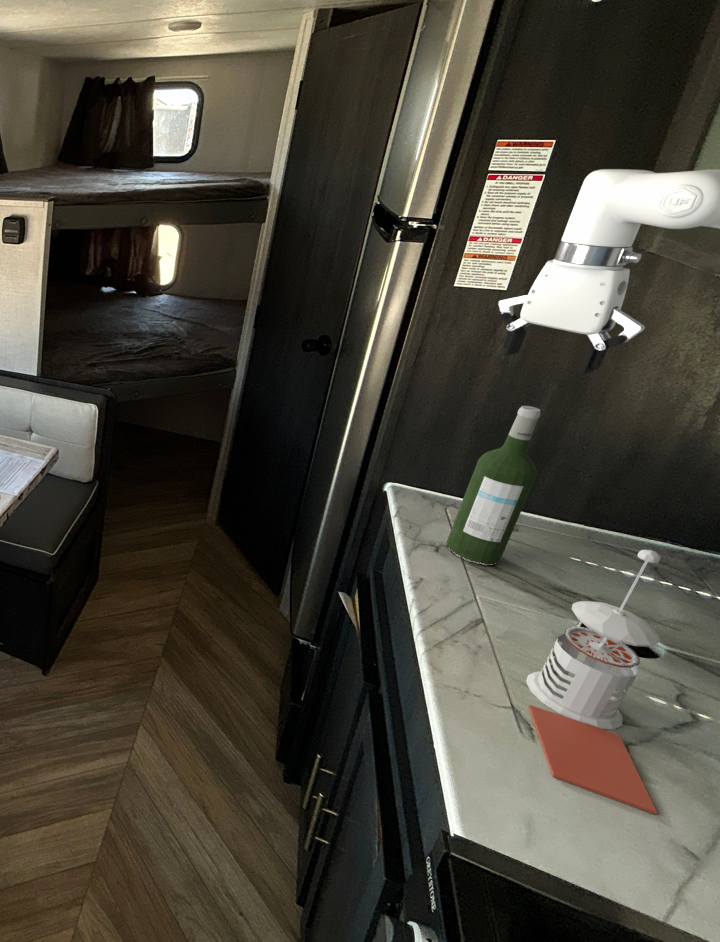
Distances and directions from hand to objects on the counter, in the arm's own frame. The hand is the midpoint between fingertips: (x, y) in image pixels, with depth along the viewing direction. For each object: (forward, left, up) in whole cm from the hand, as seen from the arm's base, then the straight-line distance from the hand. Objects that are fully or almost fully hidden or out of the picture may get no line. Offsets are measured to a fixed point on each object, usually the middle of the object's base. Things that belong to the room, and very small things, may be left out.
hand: (546, 362), depth 101 cm
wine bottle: (-1, -4, -40) cm, 40 cm away
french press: (-8, +30, -40) cm, 50 cm away
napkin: (-6, +42, -39) cm, 58 cm away
